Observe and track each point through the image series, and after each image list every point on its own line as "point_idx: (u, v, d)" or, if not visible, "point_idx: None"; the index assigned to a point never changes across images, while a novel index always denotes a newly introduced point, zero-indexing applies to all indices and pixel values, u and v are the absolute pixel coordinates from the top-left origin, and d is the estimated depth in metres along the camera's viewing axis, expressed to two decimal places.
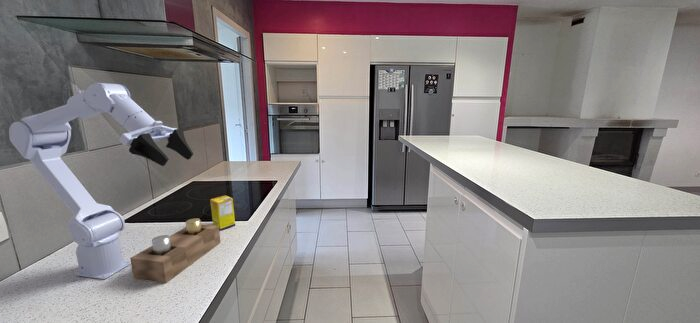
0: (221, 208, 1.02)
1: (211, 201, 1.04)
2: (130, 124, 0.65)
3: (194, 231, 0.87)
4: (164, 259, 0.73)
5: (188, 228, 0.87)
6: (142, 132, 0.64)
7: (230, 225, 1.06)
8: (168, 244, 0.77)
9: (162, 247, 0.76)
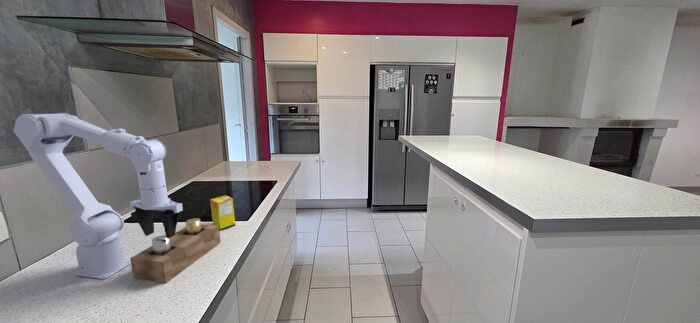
0: (221, 208, 1.02)
1: (211, 201, 1.04)
2: (164, 191, 0.74)
3: (194, 231, 0.87)
4: (164, 259, 0.73)
5: (188, 228, 0.87)
6: None
7: (230, 225, 1.06)
8: (168, 244, 0.77)
9: (162, 247, 0.76)
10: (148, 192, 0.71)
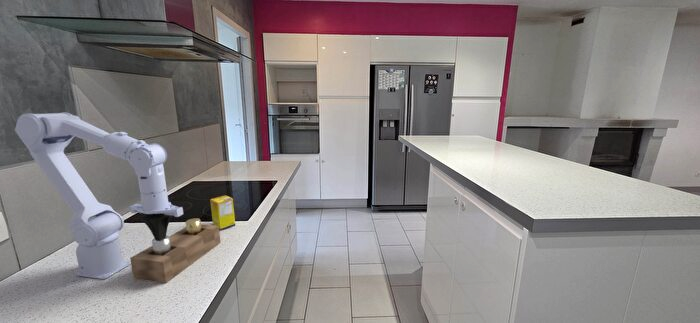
0: (221, 208, 1.02)
1: (211, 201, 1.04)
2: (164, 195, 0.74)
3: (194, 231, 0.87)
4: (164, 259, 0.73)
5: (188, 228, 0.87)
6: None
7: (230, 225, 1.06)
8: (168, 244, 0.77)
9: (162, 248, 0.76)
10: (149, 196, 0.72)
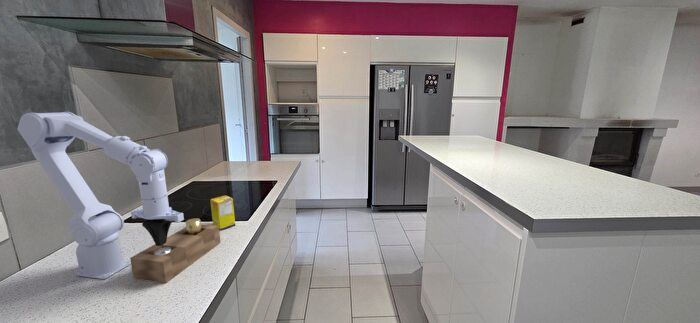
0: (221, 208, 1.02)
1: (211, 201, 1.04)
2: (165, 201, 0.75)
3: (194, 231, 0.87)
4: (164, 259, 0.73)
5: (188, 228, 0.87)
6: None
7: (230, 225, 1.06)
8: None
9: None
10: (149, 202, 0.72)
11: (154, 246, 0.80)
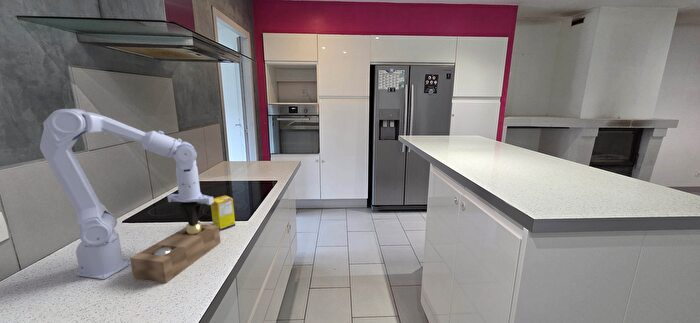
0: (221, 208, 1.02)
1: None
2: (197, 186, 0.86)
3: (195, 234, 0.87)
4: (164, 259, 0.73)
5: (188, 231, 0.87)
6: None
7: (230, 225, 1.06)
8: None
9: None
10: (185, 187, 0.83)
11: (154, 246, 0.80)
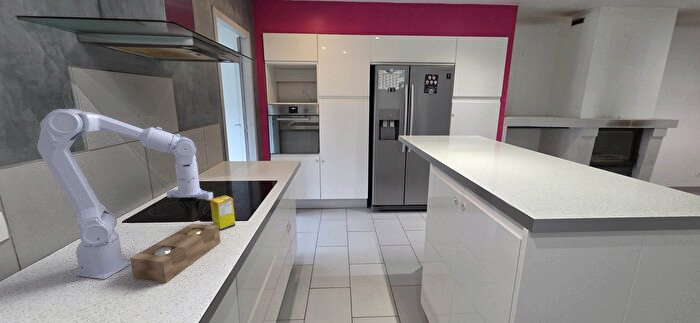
0: (221, 208, 1.02)
1: (211, 201, 1.04)
2: (197, 182, 0.86)
3: None
4: (164, 259, 0.73)
5: None
6: None
7: (230, 225, 1.06)
8: None
9: None
10: (184, 182, 0.83)
11: (154, 246, 0.80)
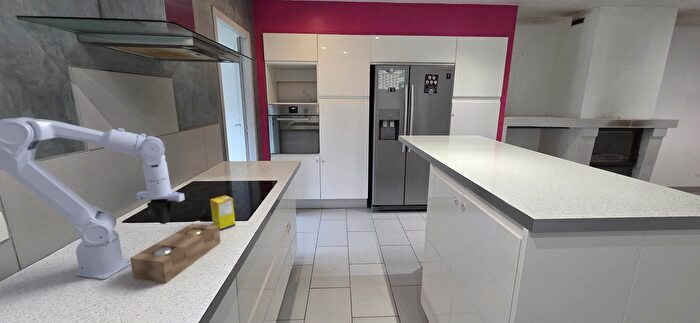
0: (221, 208, 1.02)
1: (211, 201, 1.04)
2: (167, 183, 0.82)
3: None
4: (164, 259, 0.73)
5: None
6: None
7: (230, 225, 1.06)
8: None
9: None
10: (153, 183, 0.79)
11: (154, 246, 0.80)
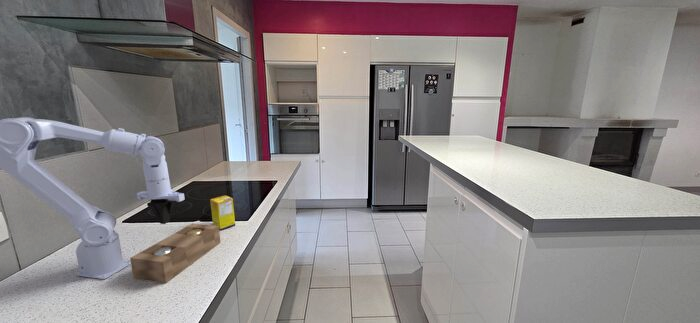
0: (221, 208, 1.02)
1: (211, 201, 1.04)
2: (167, 183, 0.82)
3: None
4: (164, 259, 0.73)
5: None
6: None
7: (230, 225, 1.06)
8: None
9: None
10: (153, 183, 0.79)
11: (154, 246, 0.80)
